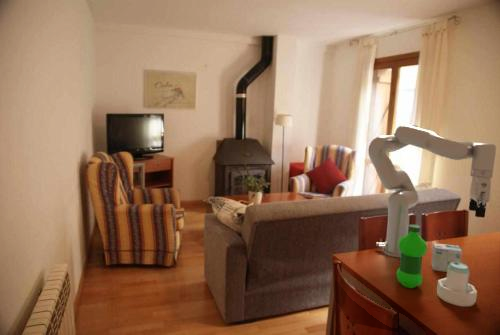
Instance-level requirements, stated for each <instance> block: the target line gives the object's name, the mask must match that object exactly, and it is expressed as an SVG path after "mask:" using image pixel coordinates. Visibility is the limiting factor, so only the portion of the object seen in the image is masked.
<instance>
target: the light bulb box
mask: <svg viewBox="0 0 500 335" xmlns="http://www.w3.org/2000/svg"><path fill="white" fill-rule="evenodd" d="M462 256H463V250H462V248H461V247H460V246H459V245H456V244H455V245H454V244H453V245H452V244H447V243H446V244H444V243H435V242H433V243H432V254H431V263H430V265H431V267H432V271H438V272H445V273H447V269H448V266H449V265H450V263H451V262H459V263H462Z"/></svg>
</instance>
